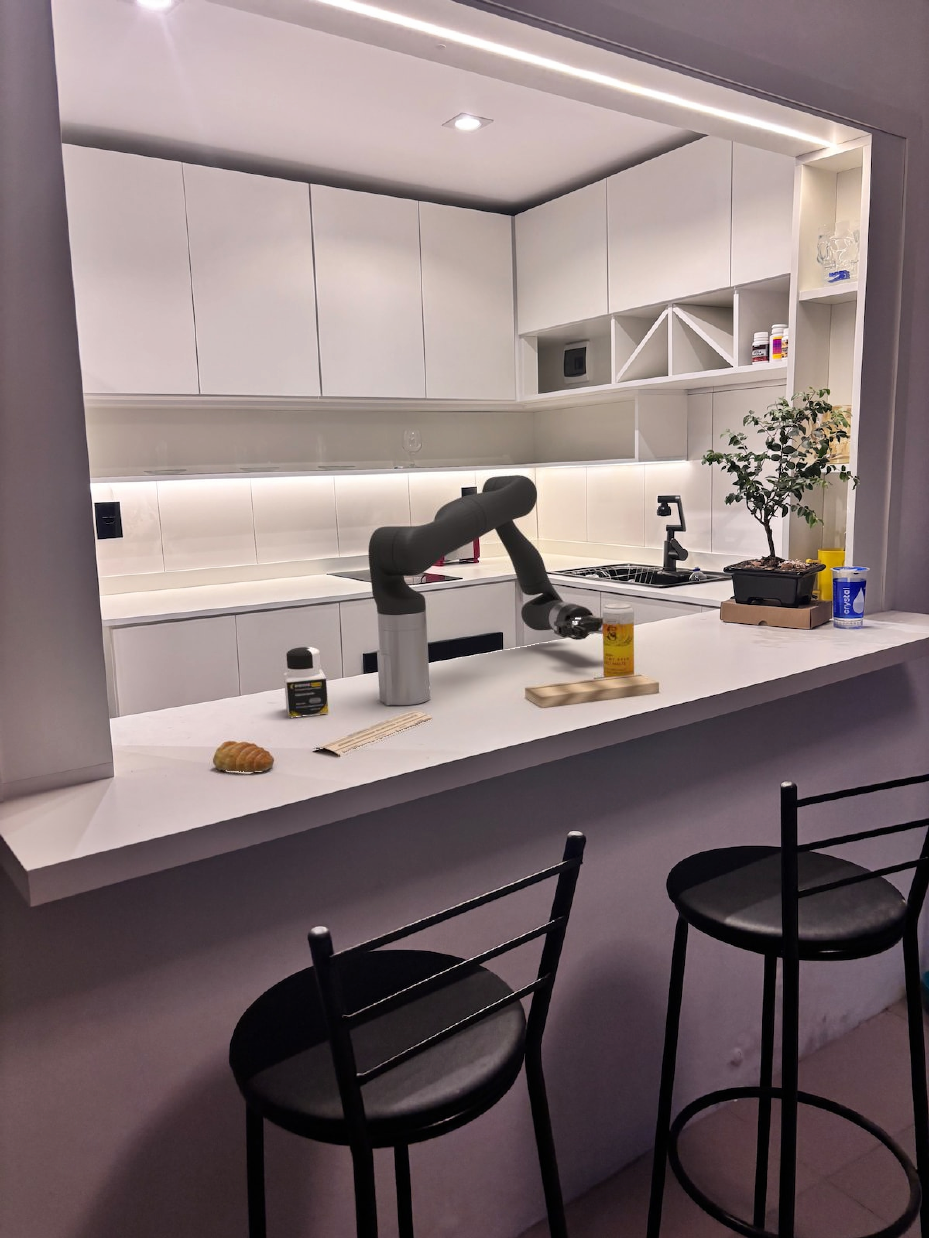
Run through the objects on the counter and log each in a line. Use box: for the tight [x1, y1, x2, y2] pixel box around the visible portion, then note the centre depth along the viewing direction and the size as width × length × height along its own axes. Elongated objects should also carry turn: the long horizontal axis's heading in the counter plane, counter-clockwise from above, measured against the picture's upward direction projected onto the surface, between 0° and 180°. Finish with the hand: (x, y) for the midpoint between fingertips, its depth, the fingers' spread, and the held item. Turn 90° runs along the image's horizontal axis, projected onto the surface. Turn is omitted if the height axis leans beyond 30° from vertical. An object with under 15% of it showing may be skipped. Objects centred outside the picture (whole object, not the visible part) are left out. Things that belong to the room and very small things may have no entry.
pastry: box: [212, 740, 275, 772], centre depth 134 cm, size 9×7×4 cm
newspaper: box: [315, 711, 433, 756], centre depth 148 cm, size 24×7×2 cm, turn 144°
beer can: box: [602, 603, 635, 678], centre depth 177 cm, size 6×6×15 cm
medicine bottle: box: [283, 646, 329, 717], centre depth 164 cm, size 7×7×12 cm
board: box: [524, 673, 660, 708], centre depth 168 cm, size 24×8×2 cm, turn 108°
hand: (603, 631), depth 184 cm, fingers open, 8 cm apart
